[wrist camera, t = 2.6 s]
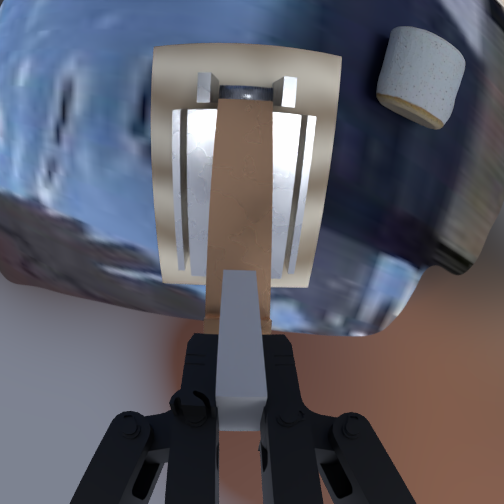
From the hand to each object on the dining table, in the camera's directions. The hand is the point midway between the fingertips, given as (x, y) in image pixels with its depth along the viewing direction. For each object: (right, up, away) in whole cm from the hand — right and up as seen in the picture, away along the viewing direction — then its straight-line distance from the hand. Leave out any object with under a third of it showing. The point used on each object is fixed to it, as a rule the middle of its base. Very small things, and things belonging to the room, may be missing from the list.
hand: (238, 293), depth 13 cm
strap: (0, +5, +3) cm, 6 cm away
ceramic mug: (+17, +19, +8) cm, 27 cm away
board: (0, +10, +12) cm, 16 cm away
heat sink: (0, +7, +11) cm, 14 cm away
